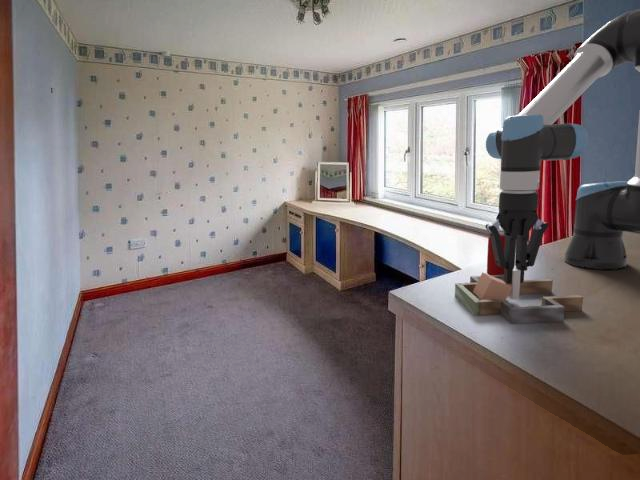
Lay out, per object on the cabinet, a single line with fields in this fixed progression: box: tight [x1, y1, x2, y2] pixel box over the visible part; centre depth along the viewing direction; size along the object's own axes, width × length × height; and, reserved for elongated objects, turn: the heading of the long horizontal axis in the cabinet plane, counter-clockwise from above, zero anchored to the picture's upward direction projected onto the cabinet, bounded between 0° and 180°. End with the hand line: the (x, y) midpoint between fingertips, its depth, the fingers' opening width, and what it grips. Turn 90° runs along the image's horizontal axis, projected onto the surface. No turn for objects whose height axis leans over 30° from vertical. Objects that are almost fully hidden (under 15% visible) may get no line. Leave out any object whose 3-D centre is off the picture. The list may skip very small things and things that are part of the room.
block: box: [473, 272, 512, 300], centre depth 94 cm, size 5×5×5 cm
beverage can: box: [486, 229, 516, 275], centre depth 112 cm, size 7×7×12 cm
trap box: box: [454, 275, 584, 325], centre depth 94 cm, size 23×22×3 cm
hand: (512, 296), depth 94 cm, fingers closed
